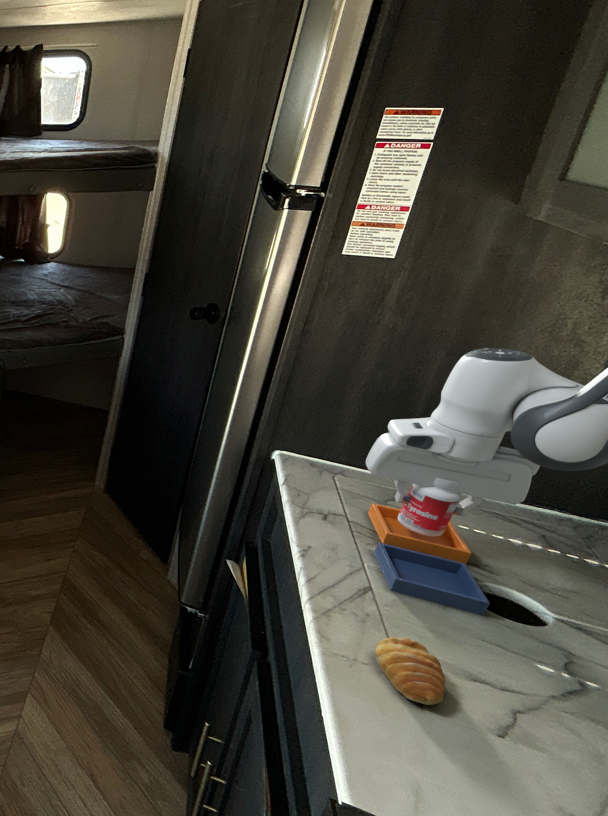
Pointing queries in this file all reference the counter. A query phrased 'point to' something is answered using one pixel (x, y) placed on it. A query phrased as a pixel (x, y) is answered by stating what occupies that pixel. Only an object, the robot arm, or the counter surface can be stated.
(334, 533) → the counter surface
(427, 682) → the pastry
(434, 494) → the pill bottle
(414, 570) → the blue tray
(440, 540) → the amber tray
